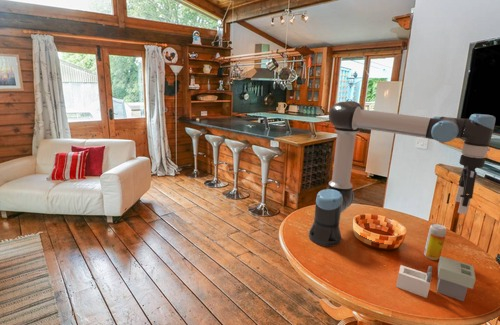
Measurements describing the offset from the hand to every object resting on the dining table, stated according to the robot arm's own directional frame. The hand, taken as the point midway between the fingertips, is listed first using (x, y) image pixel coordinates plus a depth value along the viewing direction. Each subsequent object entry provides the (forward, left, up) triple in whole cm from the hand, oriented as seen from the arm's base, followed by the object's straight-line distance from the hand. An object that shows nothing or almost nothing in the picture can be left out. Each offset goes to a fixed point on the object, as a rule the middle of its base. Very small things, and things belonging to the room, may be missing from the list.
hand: (460, 207), depth 114 cm
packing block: (+1, -20, -27) cm, 33 cm away
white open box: (-11, -25, -27) cm, 38 cm away
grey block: (+1, -20, -20) cm, 28 cm away
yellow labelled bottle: (-5, +4, -27) cm, 28 cm away
